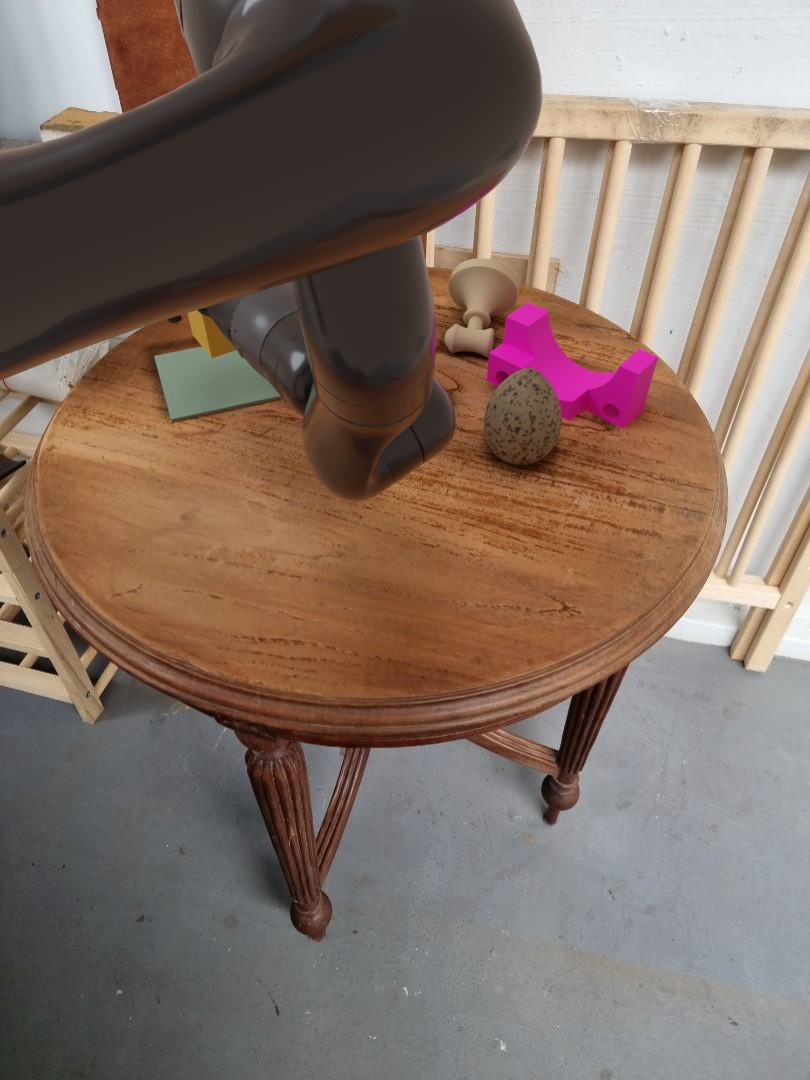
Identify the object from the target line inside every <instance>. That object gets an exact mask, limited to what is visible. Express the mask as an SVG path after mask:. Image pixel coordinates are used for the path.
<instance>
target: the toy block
mask: <svg viewBox="0 0 810 1080" xmlns="http://www.w3.org/2000/svg"><path fill="white" fill-rule="evenodd" d="M504 325H505V326H504V335H503V342H502V343H501V344H500V345H498V346H497V347H495V348H494V349H492V351H491V352H490V353H489V357H488V358H487V371H486V382H488V383H490V384H492V385H494V386H496V387H498V386H499V385H500V384H501V383H502V382H503V381H504V380H505V379H506V378H508V377H509V376H510V375H512V374H513V373H515V372H517V371H519V370H522V369H526V368H531V369H535V370H537V371H539V372H540V373H541V374H542V375H543V376H544V377H545V378H546V379H547V380H548V381H549V382H550V384H551V385H552V387H553V388H554V390H555V392H556V394H557V397H558V399H559V402H560V407H561V413H562V419H564V420H566V421H569V422H571V421H572V420H574V418H576V417H577V416H578V415H579V414H580V413H581V412H582V411H586V412H588V413H590V414H592V415H594V416H596V417H598V418H601V419H603V420H605V421H606V422H609V423H611V424H613V425H616V426H617V427H619V428H622V429H626V428H627V427H628V425H629V424H631V423H632V422H633V421H634V420H635V419H636V418H637V417H639V415H641V414H642V413H643V412H644V409H645V405H646V403H647V398H648V395H649V392H650V387H651V385H652V380H653V377H654V374H655V371H656V367H657V363H658V360H659V356H657V355H656V354H652V353H650V352H648V351H646V350H643V349H641V348H638V349H637V350H636V351H635V352H633V354H631V355H630V356H629V357H627V358H626V359H625V360H624V361H623V362H622V363H621V364H620V365H619V366H618V367H617V370H615V371H612V372H597V371H592V370H589V369H587V368H585V367H582V366H581V365H579V364H577V363H576V362H574V360H572V359H570V357H568V355H566V353H565V352H564V351H563V350H562V349H561V346H560V345H559V343H558V342H557V340H556V338H555V336H554V335H555V334H554V333H553V329H552V326H551V320H550V311H549V310H547V309H545V308H542V307H540V306H537V305H535V304H533V303H530V302H526V303H524V304H523V305H521V306H520V307H519V308H517V309H516V310H514V311H513V312H511V313H509V314H508V315H506V318H505V324H504Z"/></svg>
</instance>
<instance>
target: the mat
mask: <svg viewBox="0 0 810 1080" xmlns="http://www.w3.org/2000/svg"><path fill="white" fill-rule="evenodd" d="M154 361H155V364H156V368H157V372H158V376H159V380H160V384H161V388H162V392H163V395H164V399H165V403H166V407H167V410H168V414H169V417H170V418H169V419H170V421H171V423H175V422H179V421H184V420H190V419H194V418H198V417H203V416H208V415H213V414H216V413H221V412H226V411H230V410H234V409H235V410H236V409H239V408H244V407H248V406H249V407H250V406H255V405H258V404H263V403H268V402H271V401H276V400H282V399H283V398H282V397H281V396H280V394H279V393H278V392H277V391H276V390H275V389H274V387H273V386H272V385H271V384H270V383H269V382H268V381H267V380H266V379H265V378H264V377H262V376H261V375H260V374H259V373H257V372H256V371H255V370H254V369H253V368H252V367H251V366H250V365H249V363H248V362H247V361H246V360H245V359H243V358H242V357H241V356H240V355H239V353H238V351H237V350H236V351H232V352H229V353H226V354H223V355H220V356H217V357H214V358H211V357H210V356H209V354H208V353H207V352H206V351H205V349H204V348H203V347H202V346H197V347H193V348H187V349H183V350H178V351H172V352H167V353H161V354H157V355H154Z"/></svg>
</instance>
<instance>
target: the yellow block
mask: <svg viewBox="0 0 810 1080" xmlns="http://www.w3.org/2000/svg"><path fill="white" fill-rule="evenodd" d="M187 317H188V321H189V326H190V330H191V334H192V336H193V338H195V340H196V341H197V342H198V343H199V345H200V347H203V348H204V349H205V351H206V352H207V353H208V354H209V356H210V357H211V358H214V357H217V356H220V355H223V354H226V353H229V352H232V351H236V348H235V347H234V346H233V345H232V344H231V343H230V341H229V340H228V339H227V338H226V337H225V336H224V335H223V333H222V332H221V331H220V330H219V329H218V327H217V326H216V324H215V323H214V321H213V320H212V318H210V317H208V316H205V315H202V314H201V313H199V311H198V310H196V311H192V312H189V313H187Z"/></svg>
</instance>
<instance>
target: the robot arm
mask: <svg viewBox="0 0 810 1080" xmlns="http://www.w3.org/2000/svg"><path fill="white" fill-rule="evenodd" d="M173 3H174V8H175V11H176V16H177V19H178V23H179V26H180V29H181V33H182V36H183V39H184V42H185V45H186V47H187V50H188V53H189V55H190V57H191V59H192V63H193V66H194V69H195V71H196V74H197V76H196V77H194V78H193V79H191V80H189V81H188V82H185V83H184V84H182V85H180V86H178V87H176V88H175V89H173V90H171V91H170V92H167V93H165V94H163V95H160V96H158V97H156V98H154V99H152V100H150V101H148V102H145V103H144V104H143V103H142V105H139V106H137V107H135V108H132V109H130V110H128V111H125V112H123V113H119V114H117V115H114V116H112V117H110V118H107V119H105V120H102V121H99V122H97V123H94V124H91V125H89V126H86V127H84V128H81V129H78V130H76V131H74V132H70V133H68V134H65V135H63V136H60V137H57V138H53V139H50V140H46V141H41V142H38V143H34V144H31V145H27V146H21V147H14V148H8V149H2V150H0V381H4V380H6V379H8V378H11V377H13V376H15V375H16V376H17V375H18V374H20V373H23V372H26V371H28V370H31V369H33V368H36V367H39V366H41V365H43V364H46V363H48V362H51V361H54V360H55V359H58V358H61V357H64V356H67V355H69V354H72V353H74V352H77V351H80V350H82V349H85V348H88V347H91V346H93V345H96V344H99V343H101V342H104V341H107V340H111V339H113V338H115V337H119V336H121V335H124V334H127V333H129V332H132V331H136V330H138V329H141V328H144V327H148V326H151V325H154V324H156V323H160V322H163V321H166V320H167V322H168V323H170V324H178V323H179V322H181V321H182V320H183V317H182V315H185V314H188V313H189V312H192V311H196V310H198V311H199V313H201V314H202V315H205V316H208V317H210V318H212V320H213V321H214V323H215V324H216V326H217V327H218V329H219V330H220V331H221V332H222V333H223V335H224V336H225V337H226V338H227V339H228V340H229V341H230V343H231V344H232V345H233V346H234V347H235V348H236V350H237V351H238V353H239V355H240V356H241V357H242V358H243V359H245V360H246V361H247V362H248V363H249V365H250V366H251V367H252V368H253V369H254V370H255V371H256V372H257V373H259V374H260V375H261V376H262V377H264V378H265V379H266V380H267V381H268V382H269V383H270V384H271V385H272V386H273V387H274V389H275V390H276V391H277V392H278V393H279V394H280V396H281V397H282V399H283V400H284V401H285V403H286V404H287V405H288V406H289V407H290V408H291V409H292V410H293V411H294V412H295V413H297V415H299V416H301V417H303V419H302V424H301V425H302V426H301V436H302V444H303V450H304V454H305V458H306V461H307V463H308V466H309V468H310V470H311V472H312V474H313V475H314V476H315V479H316V480H317V481H318V482H319V484H320V485H321V487H323V488H324V489H325V490H326V491H327V492H329V493H330V494H331V495H333V496H334V497H336V498H338V499H341V500H344V501H348V502H365V501H368V500H371V499H372V498H375V497H377V496H379V495H381V494H382V493H384V492H385V491H386V490H388V489H389V488H391V487H392V486H394V485H395V484H396V483H398V482H399V481H401V480H402V479H403V478H405V477H407V476H408V475H410V474H412V473H413V472H414V471H415V470H417V469H418V468H420V467H421V466H422V465H424V464H426V463H427V462H429V461H430V460H432V459H433V458H435V457H436V456H437V455H439V454H441V452H443V451H444V450H445V449H446V448H447V447H448V446H449V445H450V443H451V441H452V440H453V438H454V434H455V431H456V425H457V424H456V423H457V418H456V411H455V407H454V404H453V401H452V399H451V397H450V396H449V394H448V392H447V389H446V388H445V387H444V386H443V384H441V382H439V380H437V378H436V377H435V363H436V351H437V327H436V323H437V322H436V310H435V304H434V297H433V290H432V285H431V280H430V275H429V270H428V266H427V265H428V264H427V261H426V255H425V250H424V245H423V240H422V236H425V235H426V234H428V233H430V232H432V231H434V230H435V229H438V228H440V227H441V226H443V225H446V224H447V223H448V222H450V221H452V220H453V219H455V218H456V217H458V216H460V215H461V214H463V213H465V212H466V211H467V210H469V209H470V208H471V207H473V206H474V205H476V204H477V203H478V202H480V201H481V200H482V199H483V198H485V197H486V196H487V195H489V194H490V193H491V192H492V191H494V189H496V187H497V186H499V185H500V184H501V183H502V182H503V181H504V180H505V178H506V177H507V176H508V175H509V173H510V172H511V171H512V170H513V168H514V167H515V166H516V165H517V163H518V162H519V161H520V160H521V158H523V156H524V154H525V152H526V151H527V148H528V146H529V145H530V142H531V140H532V138H533V136H534V134H535V131H536V130H537V127H538V123H539V119H540V115H541V112H542V107H543V98H544V97H543V76H542V72H541V67H540V63H539V60H538V57H537V56H538V55H537V52H536V49H535V46H534V43H533V41H532V38H531V36H530V34H529V31H528V30H527V27H526V25H525V22H524V20H523V17H522V15H521V13H520V11H519V8H518V6H517V4H516V2H515V0H173ZM443 387H444V388H445V389H444V388H443Z"/></svg>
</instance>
